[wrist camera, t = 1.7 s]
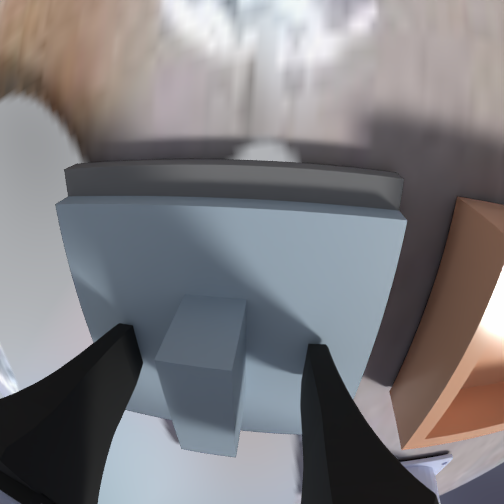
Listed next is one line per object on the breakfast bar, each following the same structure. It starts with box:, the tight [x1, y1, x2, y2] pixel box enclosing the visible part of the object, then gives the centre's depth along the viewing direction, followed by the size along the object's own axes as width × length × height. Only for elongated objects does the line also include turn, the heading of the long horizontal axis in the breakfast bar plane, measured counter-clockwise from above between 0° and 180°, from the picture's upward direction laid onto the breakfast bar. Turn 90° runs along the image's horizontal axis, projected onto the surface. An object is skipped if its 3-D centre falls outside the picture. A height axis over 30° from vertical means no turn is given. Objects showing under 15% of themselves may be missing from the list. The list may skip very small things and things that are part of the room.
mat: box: [64, 159, 404, 211], centre depth 12 cm, size 13×11×1 cm
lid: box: [55, 196, 407, 457], centre depth 10 cm, size 11×11×4 cm
